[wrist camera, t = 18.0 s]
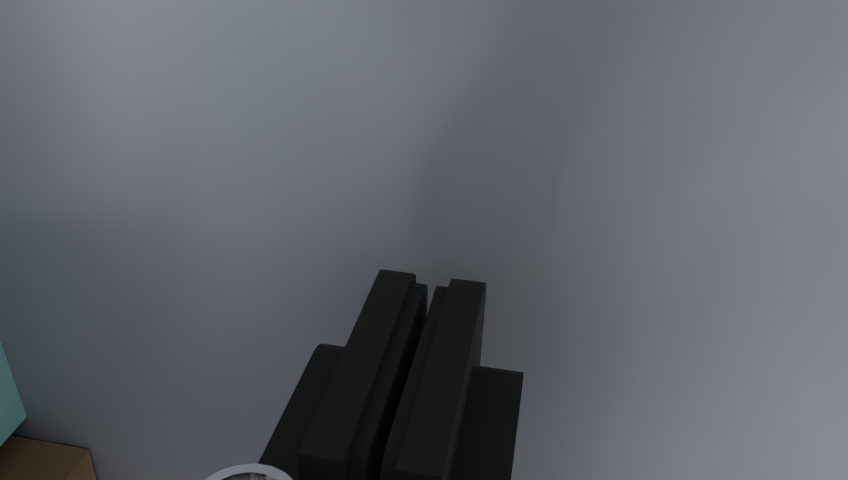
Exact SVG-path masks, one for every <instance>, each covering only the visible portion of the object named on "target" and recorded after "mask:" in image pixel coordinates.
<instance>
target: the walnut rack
mask: <svg viewBox="0 0 848 480" xmlns="http://www.w3.org/2000/svg"><path fill="white" fill-rule="evenodd" d="M0 480H97V479H96V476H95V472H94V468H93V464H92V460H91V456H90V452H89V449H84V448H78V447H73V446H67V445H61V444H56V443H50V442H45V441H39V440H33V439H28V438H22V437H17V436H11V435H10V436H9V437H8V438H7V440H6V441H5V442H4V443H3V444H2V445H1V446H0Z"/></svg>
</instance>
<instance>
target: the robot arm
mask: <svg viewBox="0 0 848 480" xmlns="http://www.w3.org/2000/svg"><path fill="white" fill-rule="evenodd" d="M427 296H428V288H427V284H419V283H416V275H415V274H413V273H405V272H397V271H389V270H380V271H379V273H378V275H377V277H376V279H375V281H374V284H373V286H372V288H371V290H370V293H369V295H368V297H367V299H366V302H365V304H364V306H363V308H362V311H361V313H360V315H359V317H358V320H357V322H356V324H355V326H354V329H353V331H352V333H351V335H350V338H349V340H348V342H347V344H346V347H342V346H335V345H328V344H320V345H318V346H317V347H316V349H315V351H314V352H313V354H312V356H311V358H310V360H309V362H308V364H307V366H306V368H305V370H304V372H303V374H302V376H301V378H300V380H299V382H298V384H297V386H296V388H295V390H294V392H293V394H292V396H291V398H290V400H289V402H288V404H287V406H286V408H285V410H284V412H283V414H282V416H281V418H280V420H279V422H278V424H277V427H276V429H275V431H274V433H273V435H272V437H271V439H270V441H269V443H268V445H267V447H266V449H265V451H264V453H263V455H262V457H261V459H260V461H259V463H258V464H256V463H253V464H240V465H235V466H232V467H229V468H226V469H222V470H220V471H218V472H216V473H215V474H213V475H211V476H209V477H208V478H206V479H205V480H511V473H512V465H513V457H514V449H515V440H516V432H517V424H518V415H519V407H520V399H521V390H522V382H523V374H524V373H523V372H516V371H509V370H502V369H495V368H488V367H481V366H480V357H481V345H482V333H483V321H484V309H485V296H486V283H483V282H476V281H468V280H460V279H451V281H450V284H449V287H443V286H437V287H436V289H435V292H434V296H433V299H432V302H431V305H430V308H429V311H428V314H427Z"/></svg>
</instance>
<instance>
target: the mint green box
mask: <svg viewBox="0 0 848 480" xmlns="http://www.w3.org/2000/svg"><path fill="white" fill-rule="evenodd" d="M26 417H27V415H26V412H25V409H24V406H23V404H22V401H21V398H20V395H19V392H18V389H17V387H16V384H15V381H14V378H13V375H12V372H11V370H10V367H9V364H8V361H7V358H6V355H5V352H4V350H3V347H2V344H1V341H0V446H1V445H2V444H3V443H4V442H5V441H6V440H7V438H8V437H9V436H10V435H11V434H12V433H13V432H14V431H15V429H16V428H17V427H18V426H19V425H20V424H21V423H22V422H23V421H24V419H25V418H26Z"/></svg>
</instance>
